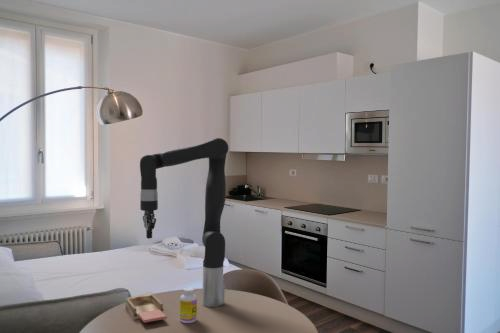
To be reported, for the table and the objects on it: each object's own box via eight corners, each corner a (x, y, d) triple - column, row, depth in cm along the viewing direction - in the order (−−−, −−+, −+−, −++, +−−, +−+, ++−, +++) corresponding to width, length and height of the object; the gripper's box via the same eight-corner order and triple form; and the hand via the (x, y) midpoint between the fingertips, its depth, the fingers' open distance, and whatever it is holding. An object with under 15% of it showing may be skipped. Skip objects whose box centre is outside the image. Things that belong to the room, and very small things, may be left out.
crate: (152, 304, 179) (152, 294, 179) (163, 315, 166) (163, 304, 166) (125, 308, 172) (125, 298, 172) (134, 320, 160) (134, 309, 160)
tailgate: (159, 309, 165) (166, 315, 158) (159, 312, 165) (166, 319, 158) (137, 313, 161) (144, 320, 153) (137, 316, 161) (144, 323, 153)
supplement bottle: (193, 324, 157) (193, 292, 157) (177, 322, 158) (177, 290, 158) (198, 318, 163) (199, 287, 163) (183, 316, 165) (184, 285, 165)
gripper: (162, 200, 173) (162, 239, 174) (152, 197, 185) (153, 235, 185) (145, 201, 170) (145, 241, 170) (136, 198, 181) (136, 236, 181)
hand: (149, 238), depth 177 cm, fingers closed
